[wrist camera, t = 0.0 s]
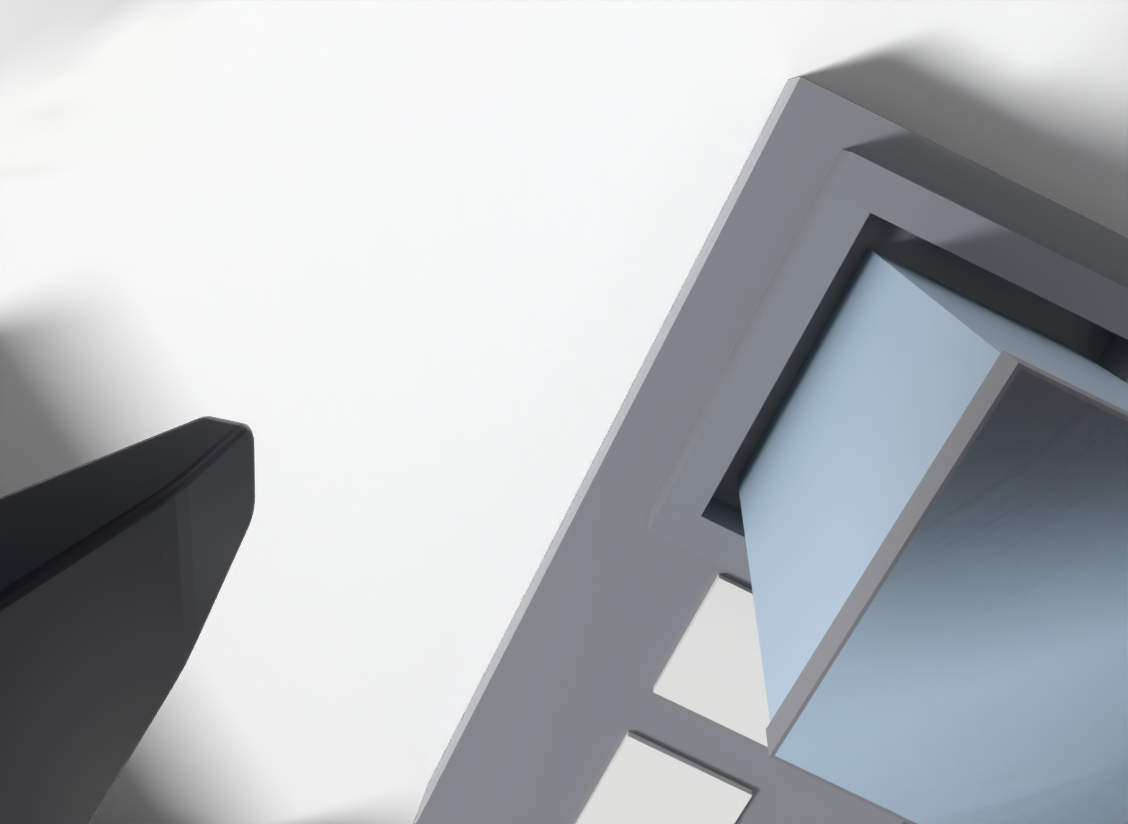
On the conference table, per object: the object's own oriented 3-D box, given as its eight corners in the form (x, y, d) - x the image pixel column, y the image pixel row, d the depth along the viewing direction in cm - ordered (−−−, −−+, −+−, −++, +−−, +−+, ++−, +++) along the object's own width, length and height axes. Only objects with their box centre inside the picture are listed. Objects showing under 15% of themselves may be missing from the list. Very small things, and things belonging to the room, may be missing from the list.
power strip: (760, 941, 29) (771, 1068, 25) (428, 783, 29) (388, 888, 25) (1203, 284, 23) (1307, 321, 19) (788, 79, 23) (809, 74, 19)
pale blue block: (1073, 346, 21) (1395, 546, 12) (926, 574, 23) (1100, 914, 13) (867, 244, 21) (1018, 362, 11) (734, 480, 23) (768, 756, 13)
